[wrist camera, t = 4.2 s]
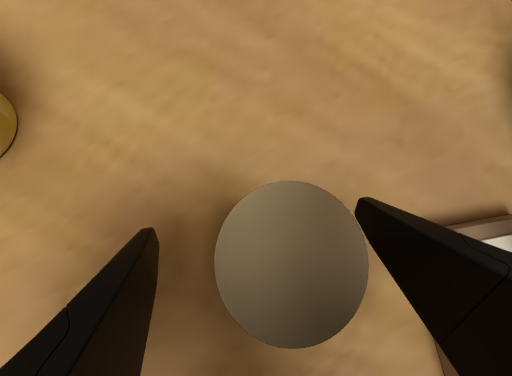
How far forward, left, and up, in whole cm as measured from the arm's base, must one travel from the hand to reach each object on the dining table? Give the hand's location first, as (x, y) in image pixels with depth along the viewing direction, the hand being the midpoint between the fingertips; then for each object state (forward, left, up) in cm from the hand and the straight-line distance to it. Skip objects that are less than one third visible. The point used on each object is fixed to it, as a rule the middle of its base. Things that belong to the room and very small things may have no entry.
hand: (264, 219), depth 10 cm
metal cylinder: (0, -1, -7) cm, 7 cm away
